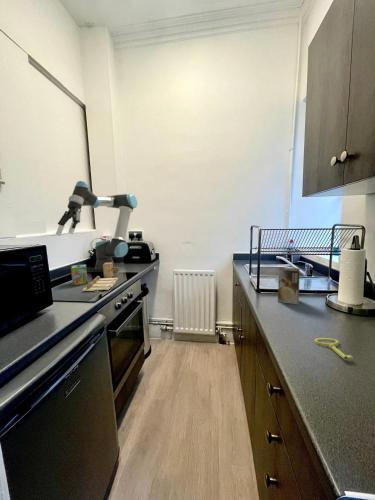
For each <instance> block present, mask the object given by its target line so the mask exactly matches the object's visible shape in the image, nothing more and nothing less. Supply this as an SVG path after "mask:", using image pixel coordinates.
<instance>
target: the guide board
mask: <svg viewBox="0 0 375 500" xmlns="http://www.w3.org/2000/svg"><path fill="white" fill-rule="evenodd" d="M118 280H119V279H118V277H112V278H104V277H103V278H101V277H100V276H99V275H97V276H96V277H95V278H94V279H92V280H91V281H90V282H88V284H86V286H85V287H84V288H83V289H82V292H83V291H94V290H109V289H110V288H111V287H112V288H113V287H114V285H115V284H116V283H117V282H118ZM112 288H111V289H112ZM111 289H110V290H111ZM110 290H109V291H110Z"/></svg>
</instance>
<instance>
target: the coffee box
mask: <svg viewBox="0 0 375 500" xmlns="http://www.w3.org/2000/svg"><path fill="white" fill-rule="evenodd" d="M300 271H301V270H300V268H299V267H286V266H279V268H278V278H277V279H278V281H277V282H278V283H277V287H278V289H277V302H278V303H287V304H291V305H299V303H300V275H301V273H300Z"/></svg>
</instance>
